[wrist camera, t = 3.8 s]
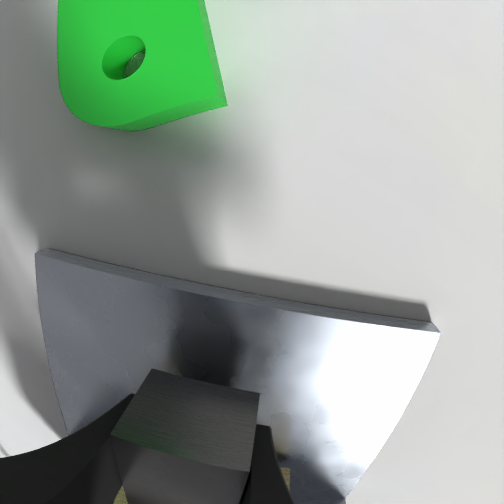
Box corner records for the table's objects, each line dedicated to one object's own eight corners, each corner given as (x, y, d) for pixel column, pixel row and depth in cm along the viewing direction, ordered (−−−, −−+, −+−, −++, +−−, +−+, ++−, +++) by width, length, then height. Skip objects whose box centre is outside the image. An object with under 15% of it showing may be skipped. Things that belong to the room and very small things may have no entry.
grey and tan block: (268, 510, 14) (260, 588, 9) (128, 477, 15) (95, 546, 9) (325, 382, 11) (341, 513, 6) (108, 335, 12) (22, 425, 6)
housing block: (319, 517, 16) (320, 597, 9) (88, 465, 17) (48, 531, 10) (432, 322, 12) (520, 438, 5) (47, 248, 13) (-74, 304, 6)
